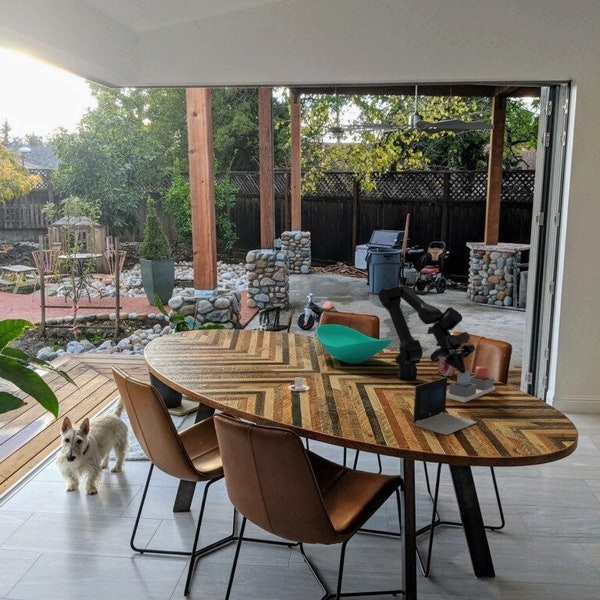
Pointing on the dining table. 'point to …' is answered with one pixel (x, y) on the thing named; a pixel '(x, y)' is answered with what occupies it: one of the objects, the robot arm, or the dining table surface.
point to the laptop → (435, 409)
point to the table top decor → (348, 343)
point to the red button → (481, 372)
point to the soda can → (445, 368)
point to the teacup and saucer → (298, 385)
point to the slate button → (463, 379)
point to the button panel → (470, 389)
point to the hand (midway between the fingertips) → (464, 372)
